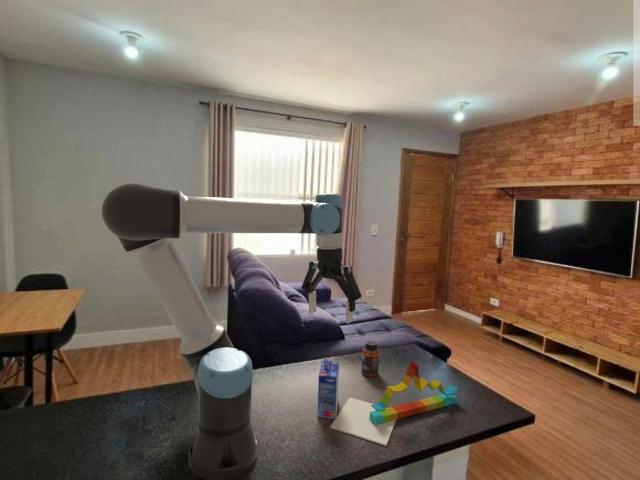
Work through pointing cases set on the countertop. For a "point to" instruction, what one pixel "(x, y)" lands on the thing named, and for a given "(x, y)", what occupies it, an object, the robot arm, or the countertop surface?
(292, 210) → the robot arm
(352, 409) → the plain beige panel
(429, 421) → the countertop surface
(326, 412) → the ink cartridge box
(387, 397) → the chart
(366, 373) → the supplement bottle
